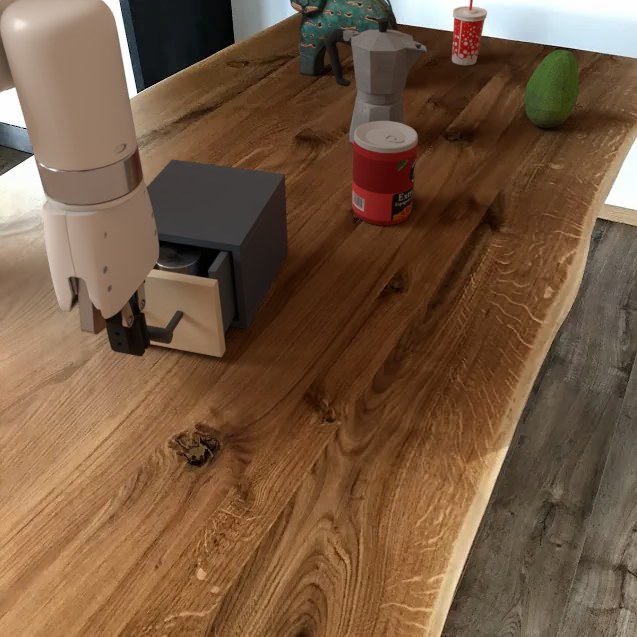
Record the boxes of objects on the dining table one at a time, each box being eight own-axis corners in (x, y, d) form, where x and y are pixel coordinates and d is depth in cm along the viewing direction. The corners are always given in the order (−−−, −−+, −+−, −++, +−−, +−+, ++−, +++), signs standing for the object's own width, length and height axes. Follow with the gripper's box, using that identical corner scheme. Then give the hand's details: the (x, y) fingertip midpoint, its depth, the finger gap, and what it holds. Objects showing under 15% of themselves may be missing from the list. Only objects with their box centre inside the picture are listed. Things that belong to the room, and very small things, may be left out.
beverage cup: (486, 60, 138) (498, -19, 129) (469, 69, 135) (479, -11, 126) (459, 52, 141) (468, -25, 132) (441, 61, 138) (449, -18, 129)
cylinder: (169, 323, 76) (160, 272, 71) (157, 297, 79) (147, 247, 75) (213, 311, 77) (207, 260, 73) (199, 286, 80) (193, 236, 76)
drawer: (205, 386, 70) (195, 314, 64) (87, 363, 73) (67, 292, 67) (264, 279, 83) (260, 212, 78) (163, 262, 86) (151, 196, 80)
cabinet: (247, 329, 78) (240, 245, 71) (129, 308, 81) (111, 225, 74) (288, 253, 89) (285, 173, 82) (183, 237, 92) (171, 159, 85)
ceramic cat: (288, 74, 133) (285, -46, 120) (306, 62, 138) (304, -54, 125) (388, 94, 126) (395, -30, 113) (403, 81, 130) (411, -40, 117)
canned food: (403, 231, 93) (409, 152, 86) (343, 220, 95) (345, 141, 88) (418, 202, 98) (425, 125, 91) (361, 192, 100) (364, 116, 93)
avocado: (580, 130, 115) (599, 53, 107) (541, 140, 112) (557, 62, 105) (547, 111, 120) (562, 37, 113) (508, 120, 118) (521, 45, 110)
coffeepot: (427, 133, 114) (439, 14, 103) (407, 159, 107) (417, 35, 96) (337, 116, 119) (338, 0, 108) (312, 140, 113) (311, 19, 101)
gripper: (95, 123, 62) (131, 294, 74) (-11, 212, 51) (51, 397, 63) (177, 133, 60) (200, 306, 72) (85, 228, 49) (131, 414, 61)
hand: (131, 348), depth 67 cm, fingers closed
